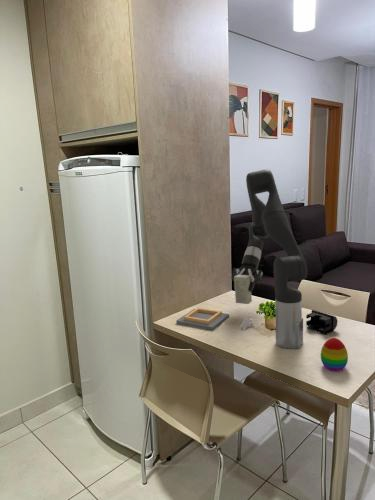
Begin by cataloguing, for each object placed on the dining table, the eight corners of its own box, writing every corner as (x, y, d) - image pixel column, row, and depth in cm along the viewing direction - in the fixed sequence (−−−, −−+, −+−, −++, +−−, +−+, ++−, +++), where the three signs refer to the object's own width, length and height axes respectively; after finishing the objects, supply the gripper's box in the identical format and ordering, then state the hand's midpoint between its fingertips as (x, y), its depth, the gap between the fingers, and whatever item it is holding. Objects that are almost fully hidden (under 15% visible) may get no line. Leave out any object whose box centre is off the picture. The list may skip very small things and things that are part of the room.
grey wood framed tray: (229, 317, 169) (229, 310, 169) (213, 330, 156) (212, 323, 155) (194, 311, 178) (194, 305, 178) (176, 323, 165) (176, 317, 164)
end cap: (337, 330, 150) (338, 314, 148) (326, 335, 146) (327, 319, 144) (315, 323, 158) (316, 308, 156) (305, 328, 154) (305, 312, 152)
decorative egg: (326, 358, 128) (326, 331, 126) (351, 365, 123) (352, 337, 121) (316, 368, 122) (316, 339, 120) (342, 376, 117) (343, 346, 115)
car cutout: (247, 324, 162) (247, 314, 161) (258, 328, 156) (258, 318, 156) (220, 333, 154) (219, 322, 153) (230, 338, 149) (230, 327, 148)
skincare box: (252, 301, 169) (251, 275, 166) (248, 304, 165) (247, 277, 163) (238, 299, 172) (237, 274, 170) (234, 302, 168) (233, 276, 166)
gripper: (234, 253, 176) (224, 284, 168) (264, 254, 168) (255, 287, 160) (239, 261, 181) (230, 292, 173) (268, 263, 174) (260, 295, 166)
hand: (242, 290), depth 167 cm, fingers closed on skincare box, 6 cm apart
